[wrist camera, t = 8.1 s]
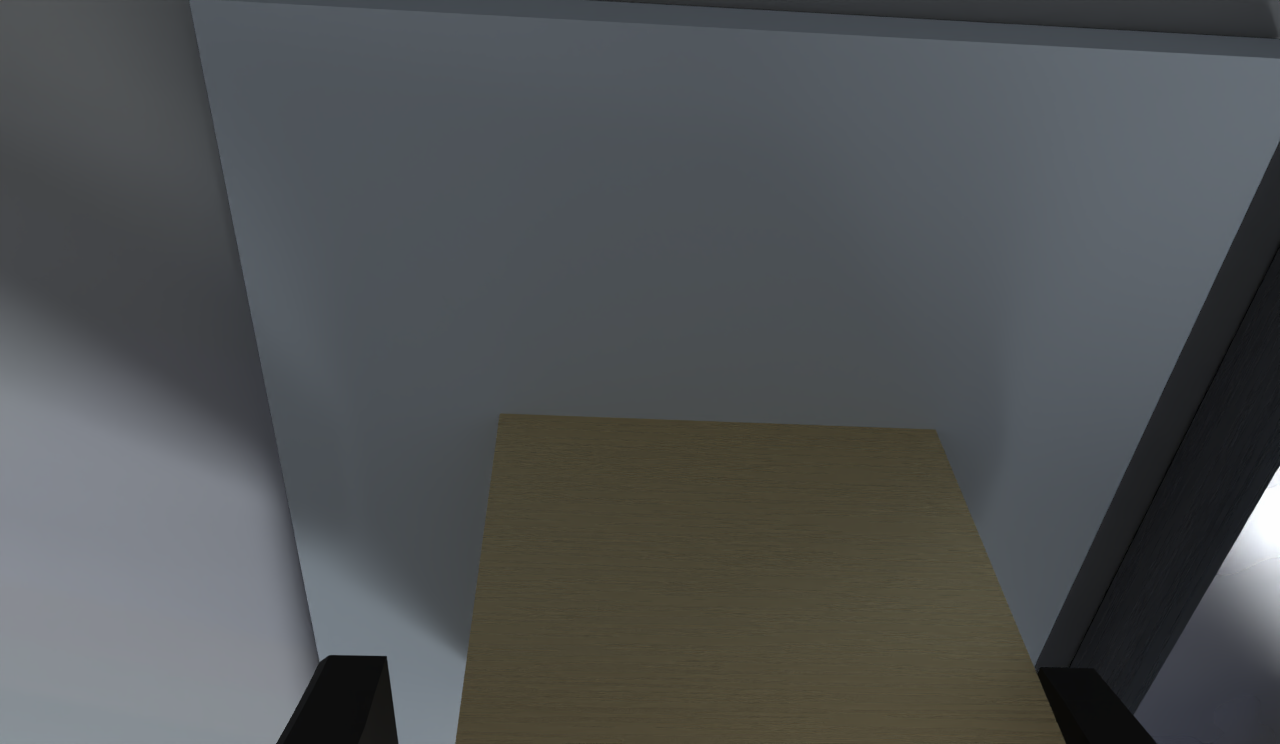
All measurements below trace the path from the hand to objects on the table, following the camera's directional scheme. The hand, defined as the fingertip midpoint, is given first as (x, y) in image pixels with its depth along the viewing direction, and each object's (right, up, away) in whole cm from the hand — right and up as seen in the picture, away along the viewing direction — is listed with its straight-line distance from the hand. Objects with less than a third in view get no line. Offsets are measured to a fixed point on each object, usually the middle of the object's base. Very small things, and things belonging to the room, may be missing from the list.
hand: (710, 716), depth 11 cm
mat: (0, +2, +2) cm, 3 cm away
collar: (0, +1, +2) cm, 2 cm away
